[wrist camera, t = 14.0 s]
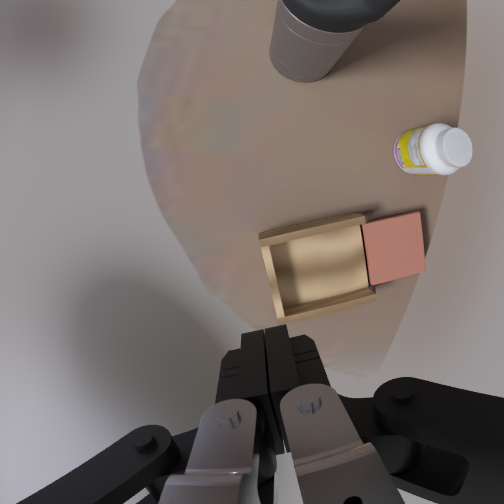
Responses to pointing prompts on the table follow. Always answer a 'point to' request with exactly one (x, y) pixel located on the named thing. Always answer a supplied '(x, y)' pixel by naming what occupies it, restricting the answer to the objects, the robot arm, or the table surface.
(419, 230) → the panel
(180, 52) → the table surface
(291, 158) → the table surface
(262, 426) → the robot arm
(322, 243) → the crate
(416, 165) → the supplement bottle
